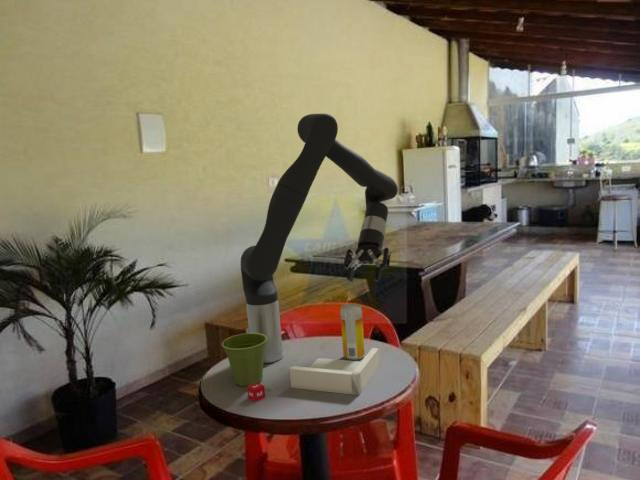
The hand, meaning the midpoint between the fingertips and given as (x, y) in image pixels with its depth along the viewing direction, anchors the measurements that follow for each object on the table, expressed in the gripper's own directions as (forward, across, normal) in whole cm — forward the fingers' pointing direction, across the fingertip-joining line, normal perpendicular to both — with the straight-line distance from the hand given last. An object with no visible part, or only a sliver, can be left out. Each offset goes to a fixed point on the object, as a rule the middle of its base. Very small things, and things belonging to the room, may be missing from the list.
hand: (362, 280), depth 149 cm
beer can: (+21, -1, +6) cm, 22 cm away
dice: (+41, -12, -19) cm, 47 cm away
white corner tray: (+30, +1, -5) cm, 31 cm away
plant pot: (+36, -20, -14) cm, 44 cm away
